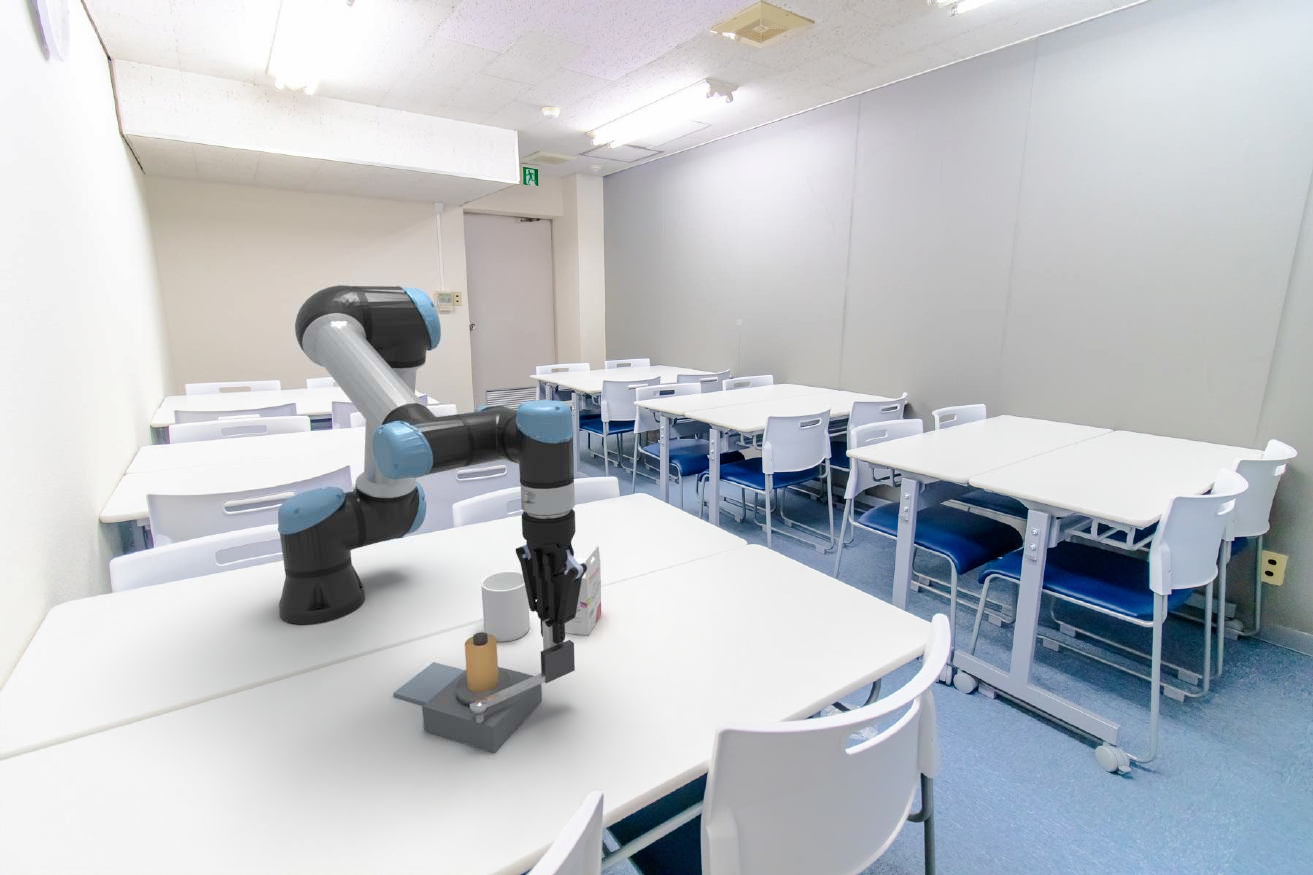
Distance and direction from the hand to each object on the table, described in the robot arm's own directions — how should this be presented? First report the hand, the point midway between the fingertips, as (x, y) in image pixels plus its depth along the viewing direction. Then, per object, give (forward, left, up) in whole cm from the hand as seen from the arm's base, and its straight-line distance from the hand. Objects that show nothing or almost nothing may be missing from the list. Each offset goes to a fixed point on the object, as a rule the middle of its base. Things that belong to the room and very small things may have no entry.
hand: (553, 658), depth 91 cm
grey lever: (-1, -6, -2) cm, 6 cm away
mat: (-20, -3, -8) cm, 21 cm away
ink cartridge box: (-7, +23, -8) cm, 25 cm away
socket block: (-8, -6, -8) cm, 13 cm away
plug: (-8, -6, -8) cm, 13 cm away
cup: (-20, +17, -8) cm, 27 cm away
